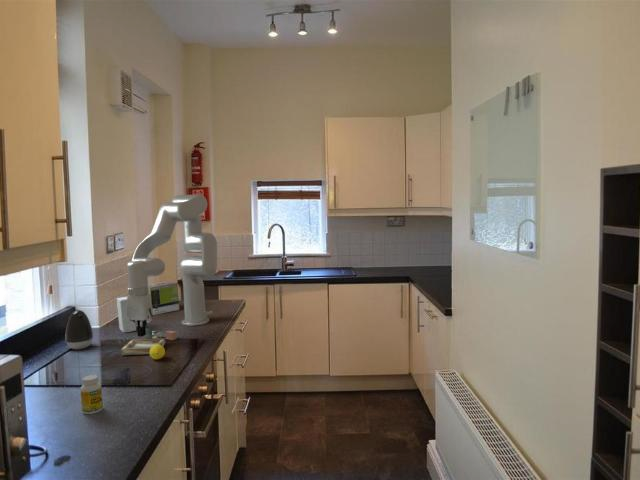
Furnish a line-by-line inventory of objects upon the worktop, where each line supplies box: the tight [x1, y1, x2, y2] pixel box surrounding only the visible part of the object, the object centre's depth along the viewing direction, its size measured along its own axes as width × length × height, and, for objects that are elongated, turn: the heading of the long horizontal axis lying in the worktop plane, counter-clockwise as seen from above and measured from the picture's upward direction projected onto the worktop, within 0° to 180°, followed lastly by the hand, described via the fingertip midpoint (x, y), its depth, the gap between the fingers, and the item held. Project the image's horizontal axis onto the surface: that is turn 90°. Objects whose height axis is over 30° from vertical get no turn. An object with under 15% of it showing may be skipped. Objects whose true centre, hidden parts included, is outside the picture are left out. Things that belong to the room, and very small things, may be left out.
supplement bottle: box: [80, 374, 104, 415], centre depth 141 cm, size 5×5×10 cm
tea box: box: [148, 280, 180, 316], centre depth 262 cm, size 15×10×15 cm
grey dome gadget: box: [64, 309, 94, 350], centre depth 202 cm, size 10×10×15 cm
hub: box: [152, 329, 162, 338], centre depth 212 cm, size 5×5×3 cm
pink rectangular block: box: [165, 330, 178, 341], centre depth 211 cm, size 2×4×3 cm, turn 56°
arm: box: [120, 326, 166, 356], centre depth 199 cm, size 19×13×7 cm
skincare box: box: [116, 296, 137, 333], centre depth 227 cm, size 8×6×15 cm
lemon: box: [149, 345, 166, 360], centre depth 185 cm, size 7×5×5 cm
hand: (142, 335), depth 205 cm, fingers closed
